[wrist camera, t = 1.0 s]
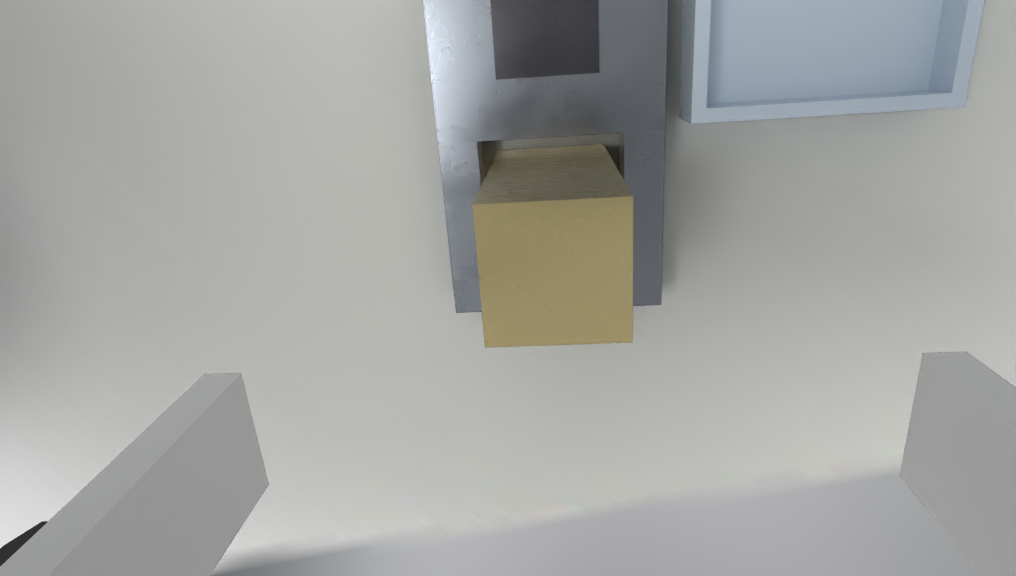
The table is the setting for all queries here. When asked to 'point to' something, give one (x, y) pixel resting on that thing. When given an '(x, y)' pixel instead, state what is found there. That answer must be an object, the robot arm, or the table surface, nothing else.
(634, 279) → the grey slotted plate
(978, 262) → the table surface
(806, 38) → the tray
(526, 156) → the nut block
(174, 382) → the table surface
